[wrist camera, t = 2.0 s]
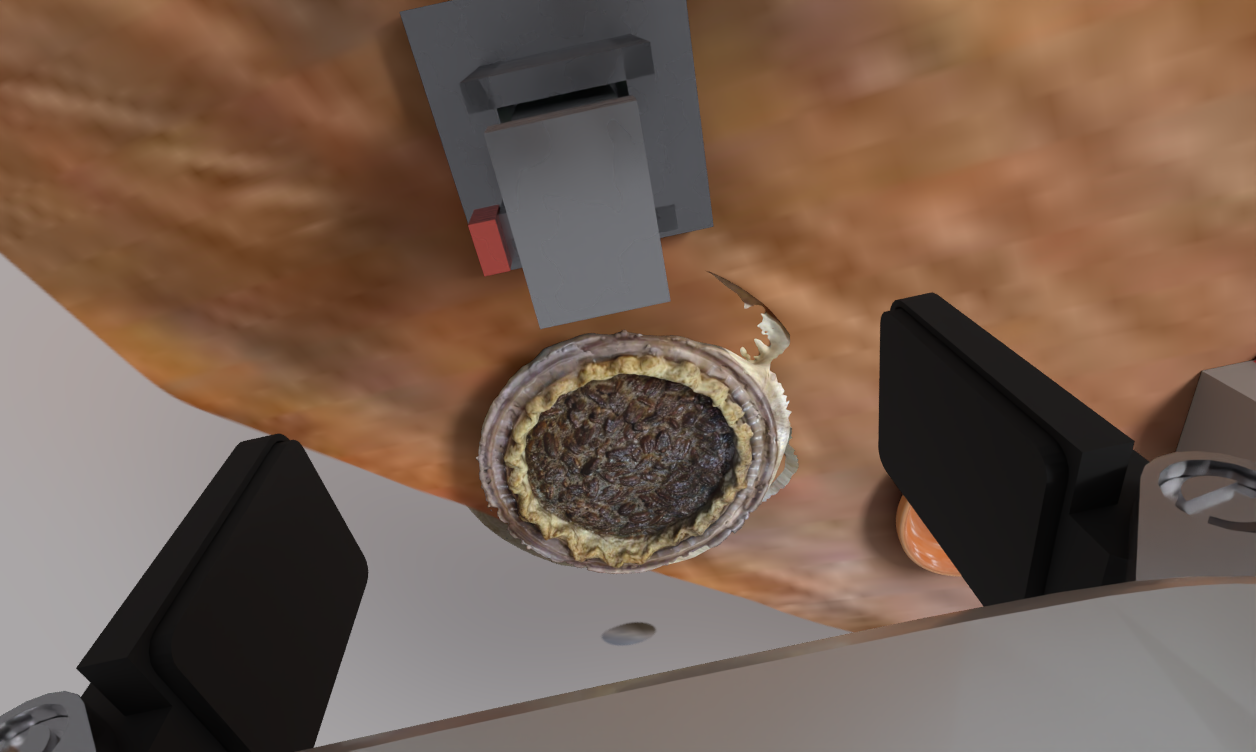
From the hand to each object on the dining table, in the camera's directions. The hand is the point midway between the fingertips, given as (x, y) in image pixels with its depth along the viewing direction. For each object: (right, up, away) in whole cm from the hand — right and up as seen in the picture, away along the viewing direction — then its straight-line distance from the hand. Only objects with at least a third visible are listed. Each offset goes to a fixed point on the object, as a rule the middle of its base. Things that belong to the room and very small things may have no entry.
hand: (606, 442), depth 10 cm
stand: (-3, +15, +26) cm, 31 cm away
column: (-3, +14, +24) cm, 29 cm away
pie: (0, -3, +38) cm, 38 cm away
